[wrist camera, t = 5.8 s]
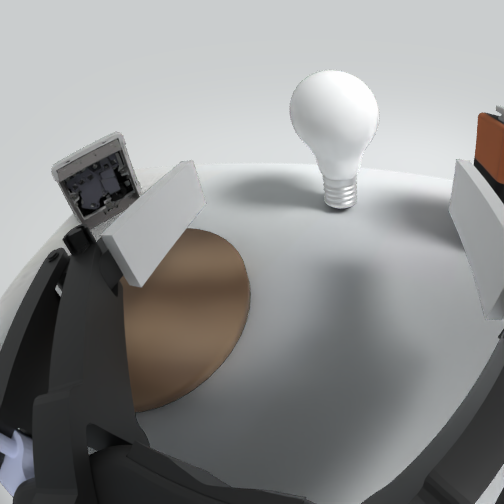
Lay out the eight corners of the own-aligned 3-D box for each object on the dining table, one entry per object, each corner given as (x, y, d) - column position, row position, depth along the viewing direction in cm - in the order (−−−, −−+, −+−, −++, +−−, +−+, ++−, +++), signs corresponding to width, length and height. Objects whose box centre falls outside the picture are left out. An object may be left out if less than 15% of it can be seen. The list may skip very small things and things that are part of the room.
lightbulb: (324, 183, 25) (311, 68, 19) (388, 198, 22) (385, 69, 15) (287, 216, 22) (263, 77, 15) (361, 238, 18) (356, 73, 12)
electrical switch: (142, 190, 34) (118, 127, 28) (152, 205, 31) (125, 133, 24) (81, 223, 31) (50, 163, 25) (83, 243, 28) (46, 175, 21)
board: (272, 395, 11) (269, 387, 11) (37, 408, 11) (27, 401, 11) (237, 220, 23) (234, 210, 22) (86, 262, 23) (81, 254, 23)
